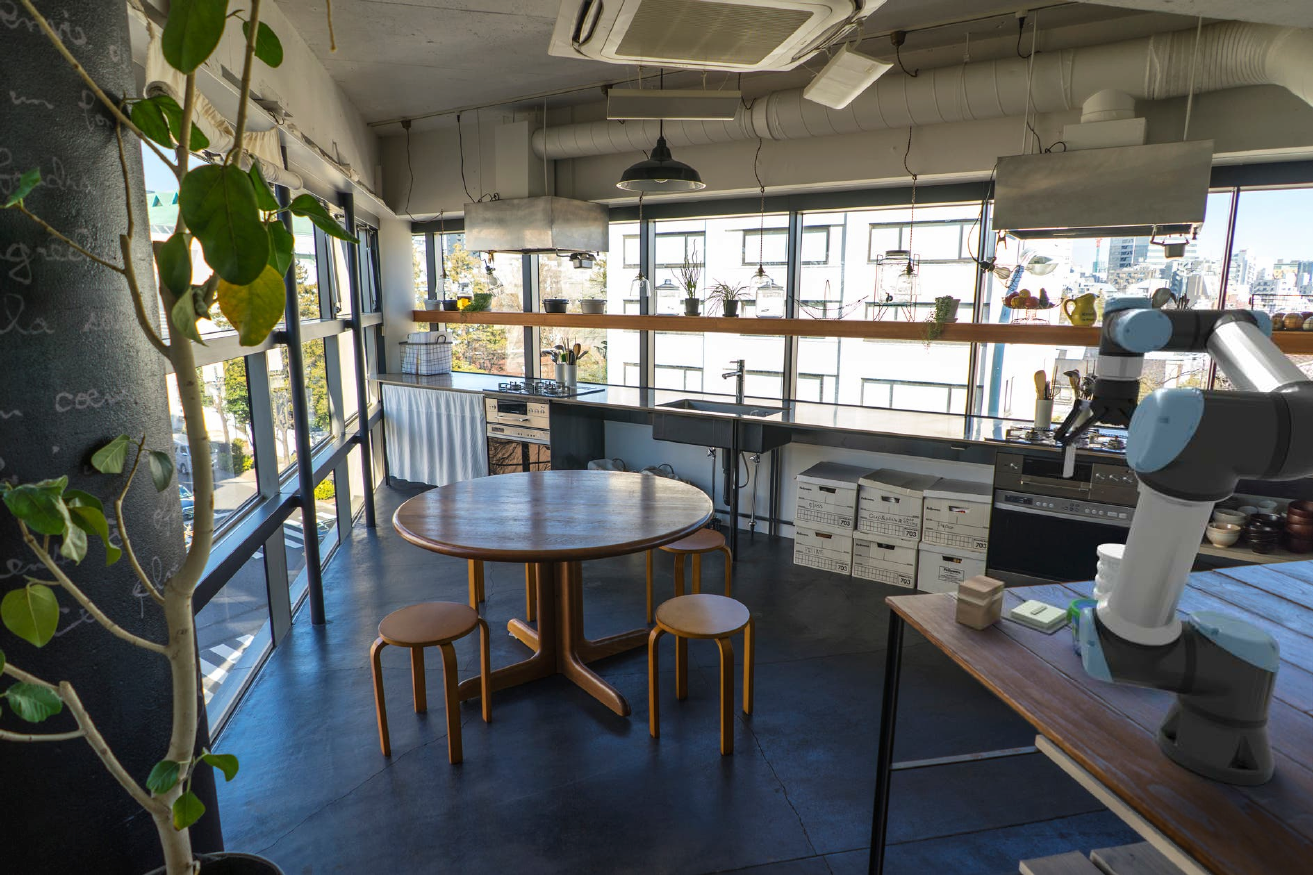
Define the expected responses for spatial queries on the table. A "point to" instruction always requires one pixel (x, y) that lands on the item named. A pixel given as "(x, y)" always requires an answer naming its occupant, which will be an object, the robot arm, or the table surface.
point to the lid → (1038, 613)
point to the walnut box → (979, 601)
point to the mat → (1038, 628)
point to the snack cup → (1078, 618)
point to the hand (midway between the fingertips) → (1103, 483)
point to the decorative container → (1107, 568)
